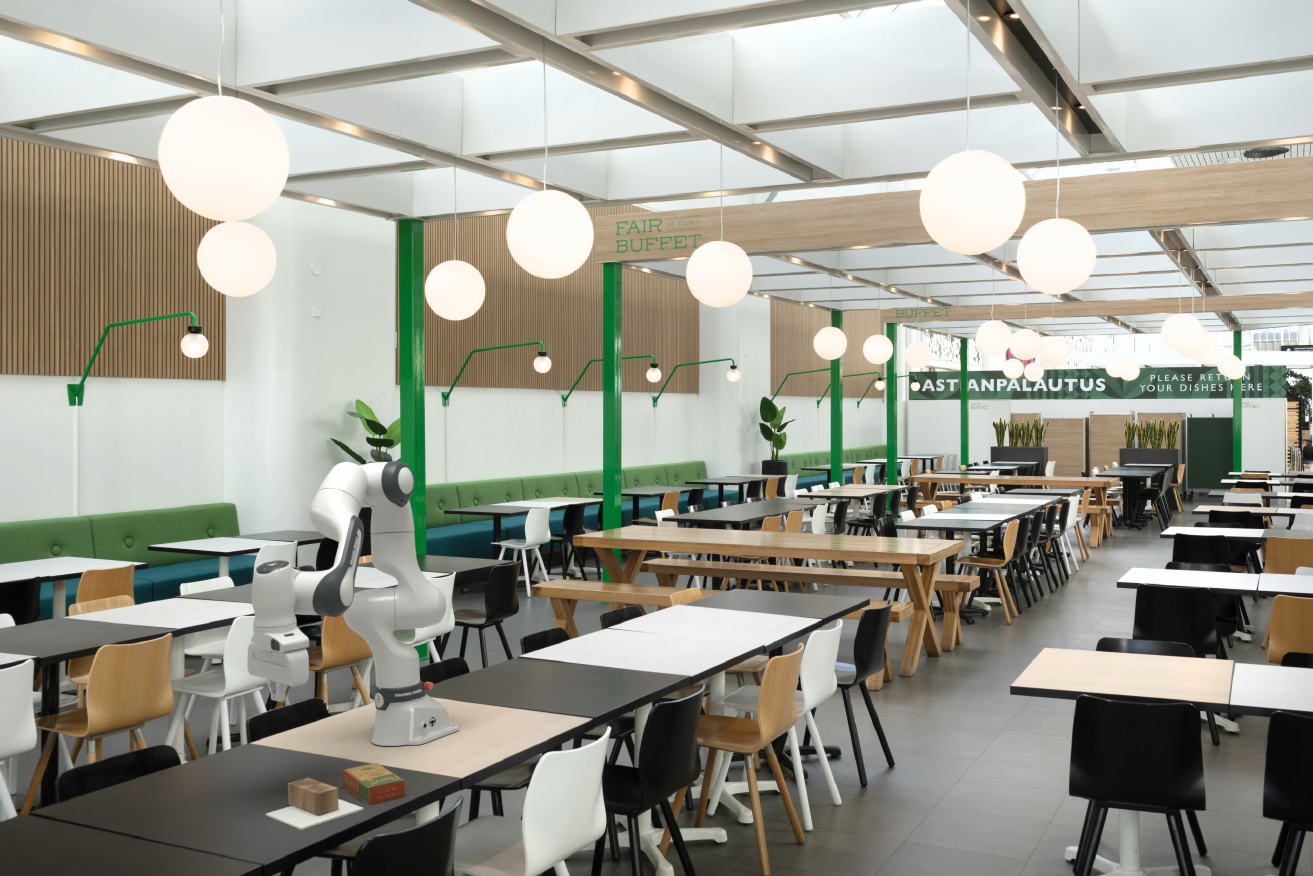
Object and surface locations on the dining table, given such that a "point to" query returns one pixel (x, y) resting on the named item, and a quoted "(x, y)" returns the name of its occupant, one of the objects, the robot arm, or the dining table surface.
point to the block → (313, 796)
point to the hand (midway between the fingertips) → (278, 700)
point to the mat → (311, 815)
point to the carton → (373, 783)
